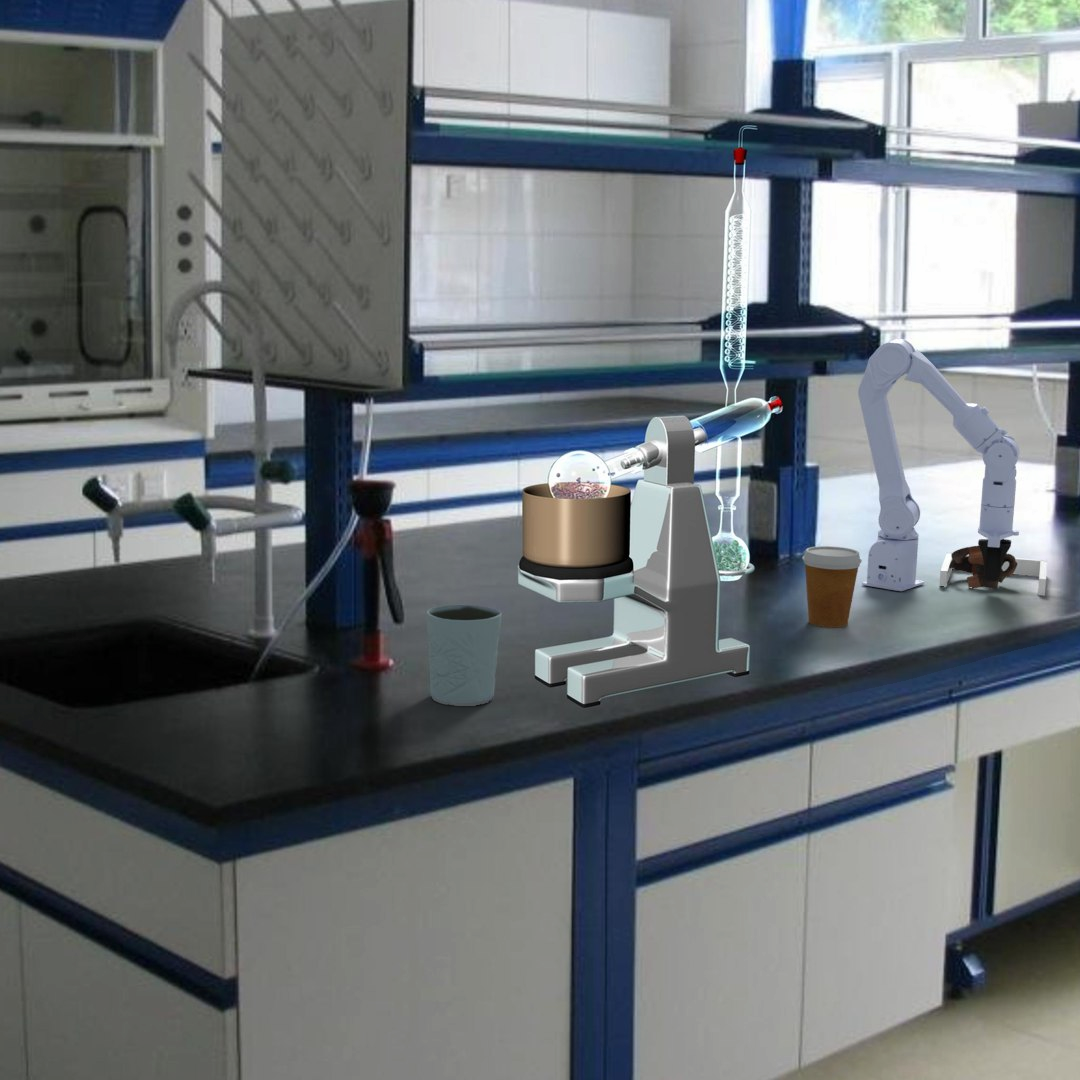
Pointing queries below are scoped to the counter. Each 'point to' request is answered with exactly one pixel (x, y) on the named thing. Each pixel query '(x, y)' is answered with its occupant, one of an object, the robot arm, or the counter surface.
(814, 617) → the disposable coffee cup
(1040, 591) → the u-shaped white bracket
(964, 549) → the pottery mug
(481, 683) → the grey tapered cup
